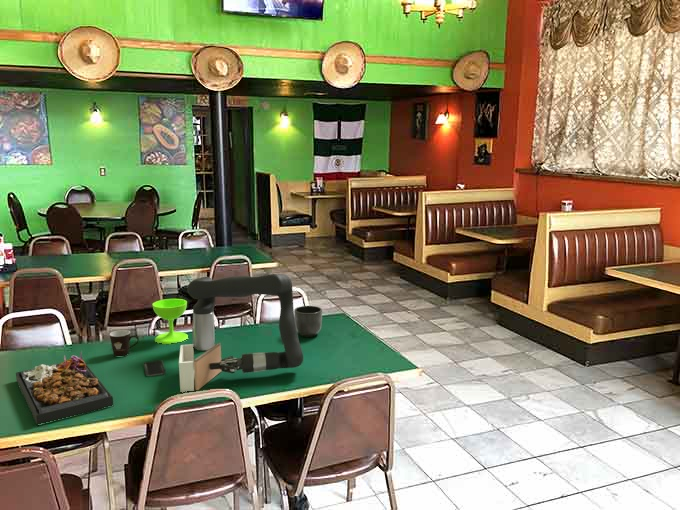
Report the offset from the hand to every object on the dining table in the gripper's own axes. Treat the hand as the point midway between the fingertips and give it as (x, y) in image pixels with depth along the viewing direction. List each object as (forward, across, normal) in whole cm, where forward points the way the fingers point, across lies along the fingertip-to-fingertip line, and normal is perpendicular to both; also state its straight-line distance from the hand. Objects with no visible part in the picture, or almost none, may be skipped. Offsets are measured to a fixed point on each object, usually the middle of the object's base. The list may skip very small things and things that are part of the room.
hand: (209, 366), depth 221 cm
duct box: (+9, -2, +6) cm, 11 cm away
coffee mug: (+37, -39, +6) cm, 54 cm away
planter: (-49, -47, +7) cm, 68 cm away
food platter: (+55, -2, +7) cm, 55 cm away
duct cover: (+1, -1, +6) cm, 6 cm away
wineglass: (+17, -56, +7) cm, 59 cm away
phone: (+23, -18, +7) cm, 30 cm away
